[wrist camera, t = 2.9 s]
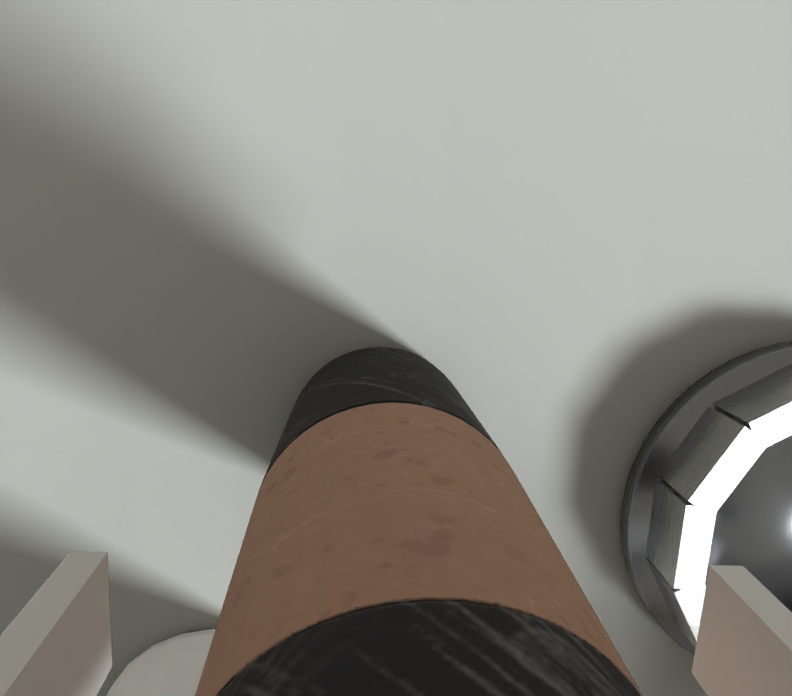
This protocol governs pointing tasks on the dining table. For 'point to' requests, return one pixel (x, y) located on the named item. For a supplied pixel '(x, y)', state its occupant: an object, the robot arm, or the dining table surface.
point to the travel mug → (400, 557)
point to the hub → (714, 490)
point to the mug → (166, 667)
